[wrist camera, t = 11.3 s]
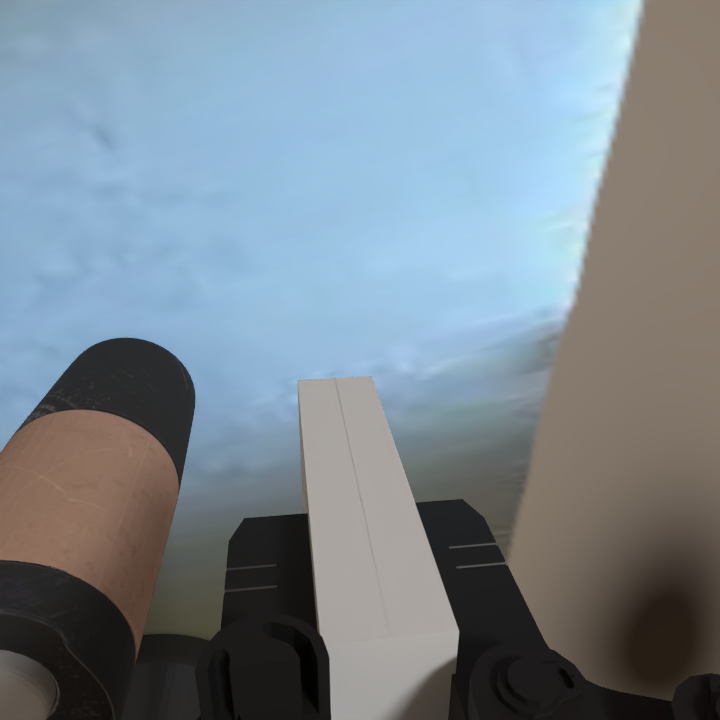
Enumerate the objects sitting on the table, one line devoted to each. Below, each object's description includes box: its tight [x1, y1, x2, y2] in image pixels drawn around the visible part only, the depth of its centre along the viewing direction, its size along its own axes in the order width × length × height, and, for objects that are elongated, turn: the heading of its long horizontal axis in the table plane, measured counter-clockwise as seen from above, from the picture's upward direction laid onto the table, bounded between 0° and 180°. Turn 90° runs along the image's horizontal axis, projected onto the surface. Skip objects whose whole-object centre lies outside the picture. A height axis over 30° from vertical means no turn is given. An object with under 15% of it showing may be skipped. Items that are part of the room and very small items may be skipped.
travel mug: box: [0, 338, 195, 720], centre depth 27 cm, size 8×8×20 cm
